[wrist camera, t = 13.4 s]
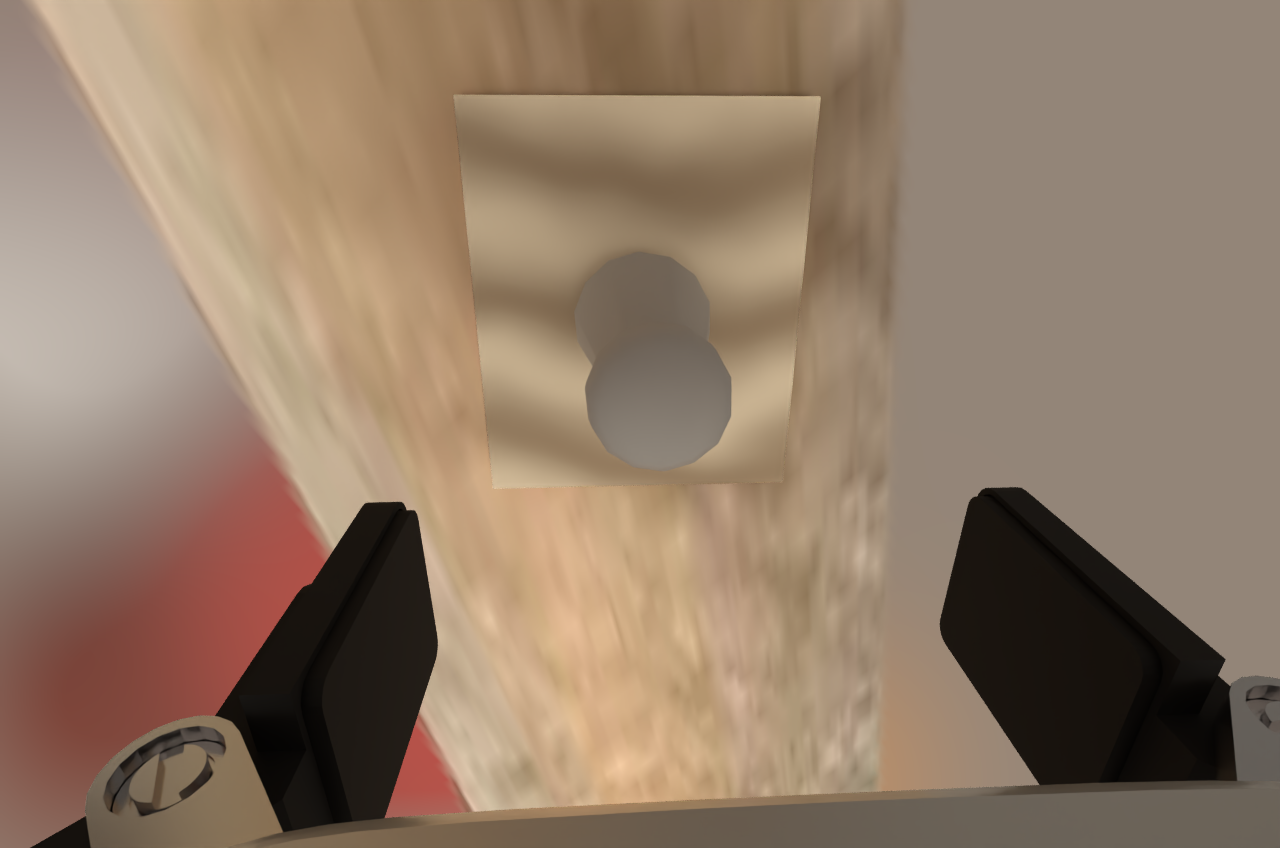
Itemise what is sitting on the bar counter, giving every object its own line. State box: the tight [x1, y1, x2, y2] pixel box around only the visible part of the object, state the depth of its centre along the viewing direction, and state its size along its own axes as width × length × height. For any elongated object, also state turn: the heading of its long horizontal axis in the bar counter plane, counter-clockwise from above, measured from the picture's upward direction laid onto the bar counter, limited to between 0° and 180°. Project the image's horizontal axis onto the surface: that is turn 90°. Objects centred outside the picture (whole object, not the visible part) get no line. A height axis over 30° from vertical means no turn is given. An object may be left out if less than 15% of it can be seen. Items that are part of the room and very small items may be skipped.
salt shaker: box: [574, 252, 732, 471], centre depth 24 cm, size 6×6×13 cm
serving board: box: [453, 95, 821, 489], centre depth 30 cm, size 18×15×2 cm
